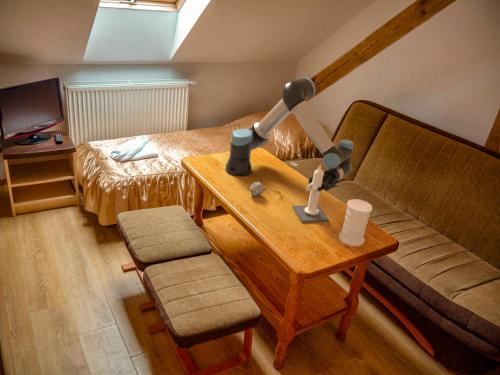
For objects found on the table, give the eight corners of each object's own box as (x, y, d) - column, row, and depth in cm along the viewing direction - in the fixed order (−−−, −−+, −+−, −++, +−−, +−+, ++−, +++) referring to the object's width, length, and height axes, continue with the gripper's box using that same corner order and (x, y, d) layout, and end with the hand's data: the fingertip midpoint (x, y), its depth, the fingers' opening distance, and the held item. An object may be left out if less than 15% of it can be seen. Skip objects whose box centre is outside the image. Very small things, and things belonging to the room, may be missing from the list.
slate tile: (292, 207, 220) (292, 205, 220) (318, 207, 224) (318, 205, 223) (301, 222, 208) (301, 220, 208) (328, 221, 212) (329, 219, 211)
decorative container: (334, 239, 198) (342, 205, 190) (344, 229, 207) (352, 196, 199) (358, 249, 193) (367, 215, 185) (367, 238, 202) (376, 205, 193)
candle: (321, 214, 213) (330, 168, 201) (307, 215, 211) (316, 168, 199) (315, 207, 219) (324, 161, 207) (302, 208, 217) (310, 162, 205)
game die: (257, 203, 228) (263, 195, 219) (243, 195, 227) (248, 187, 219) (264, 190, 232) (270, 182, 223) (250, 182, 232) (255, 174, 223)
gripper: (346, 187, 219) (323, 203, 202) (318, 176, 227) (294, 190, 210) (349, 173, 216) (326, 188, 199) (320, 163, 224) (296, 176, 207)
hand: (310, 189), depth 205 cm, fingers closed on candle, 3 cm apart
